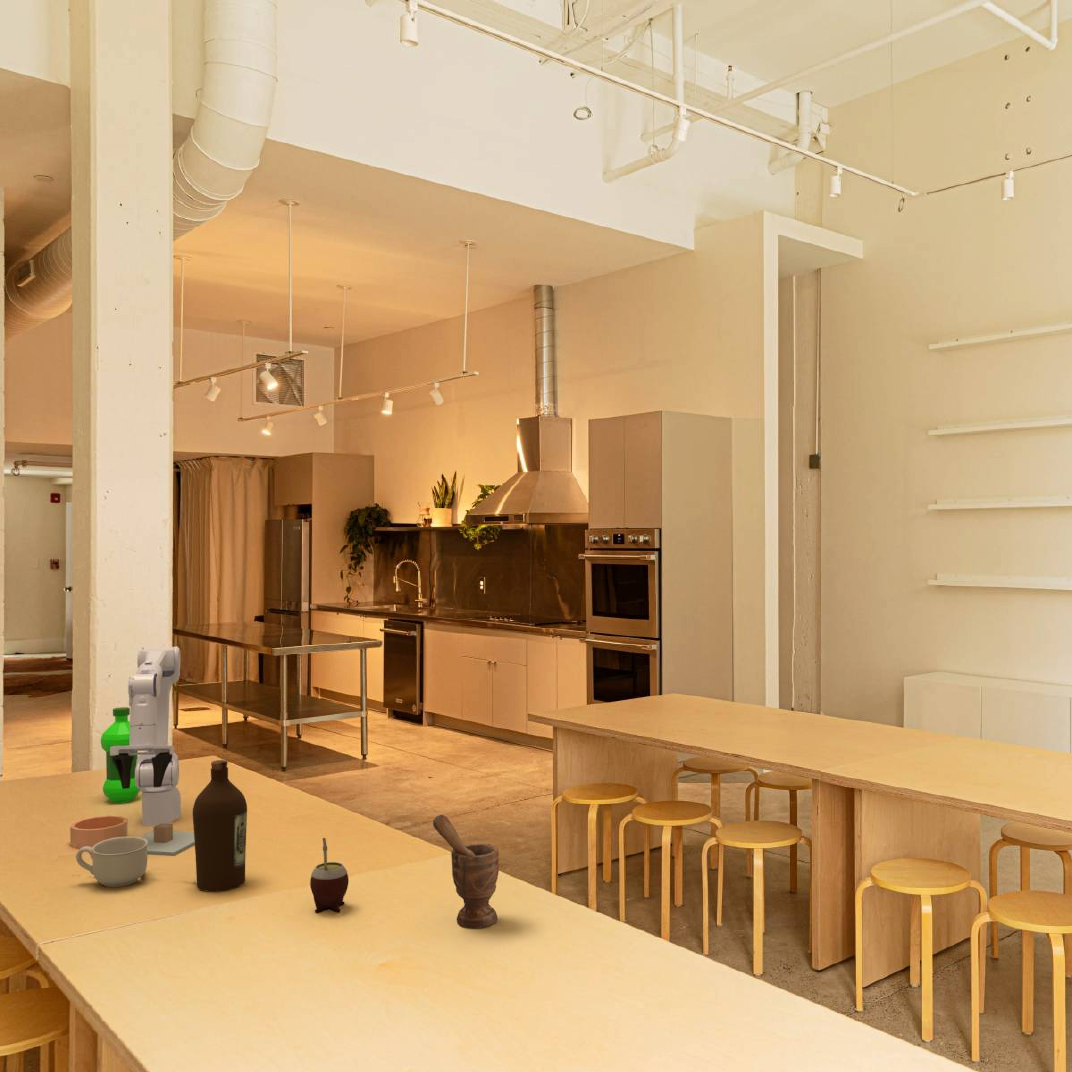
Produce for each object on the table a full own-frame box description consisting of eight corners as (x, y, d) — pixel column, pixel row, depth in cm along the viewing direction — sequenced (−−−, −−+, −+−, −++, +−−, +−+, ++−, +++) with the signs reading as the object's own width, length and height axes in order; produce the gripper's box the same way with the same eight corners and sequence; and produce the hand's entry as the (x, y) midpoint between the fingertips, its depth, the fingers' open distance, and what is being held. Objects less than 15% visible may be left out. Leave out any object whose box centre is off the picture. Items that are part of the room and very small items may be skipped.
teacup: (157, 874, 217) (157, 836, 217) (132, 892, 206) (131, 852, 207) (94, 873, 219) (94, 835, 219) (66, 890, 208) (65, 851, 208)
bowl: (93, 835, 247) (93, 814, 247) (138, 838, 244) (137, 817, 244) (59, 850, 235) (59, 828, 235) (105, 853, 232) (105, 831, 232)
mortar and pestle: (455, 938, 180) (454, 823, 180) (428, 924, 186) (427, 814, 186) (508, 922, 187) (507, 812, 187) (481, 909, 194) (479, 803, 194)
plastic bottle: (114, 795, 286) (113, 705, 286) (150, 796, 284) (148, 705, 284) (94, 805, 276) (92, 711, 276) (131, 805, 275) (129, 711, 275)
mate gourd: (335, 899, 200) (333, 822, 200) (358, 909, 195) (357, 829, 195) (301, 909, 195) (300, 830, 195) (324, 920, 190) (323, 838, 190)
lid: (153, 832, 246) (153, 815, 246) (210, 835, 242) (210, 818, 242) (114, 851, 231) (113, 833, 231) (173, 855, 228) (173, 836, 228)
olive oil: (186, 893, 205) (185, 767, 205) (202, 876, 215) (200, 756, 215) (240, 892, 205) (239, 766, 205) (253, 875, 216) (251, 755, 216)
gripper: (122, 724, 227) (120, 787, 224) (181, 725, 238) (180, 785, 235) (106, 727, 231) (104, 789, 228) (165, 727, 242) (164, 787, 239)
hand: (141, 787), depth 232 cm, fingers open, 7 cm apart
